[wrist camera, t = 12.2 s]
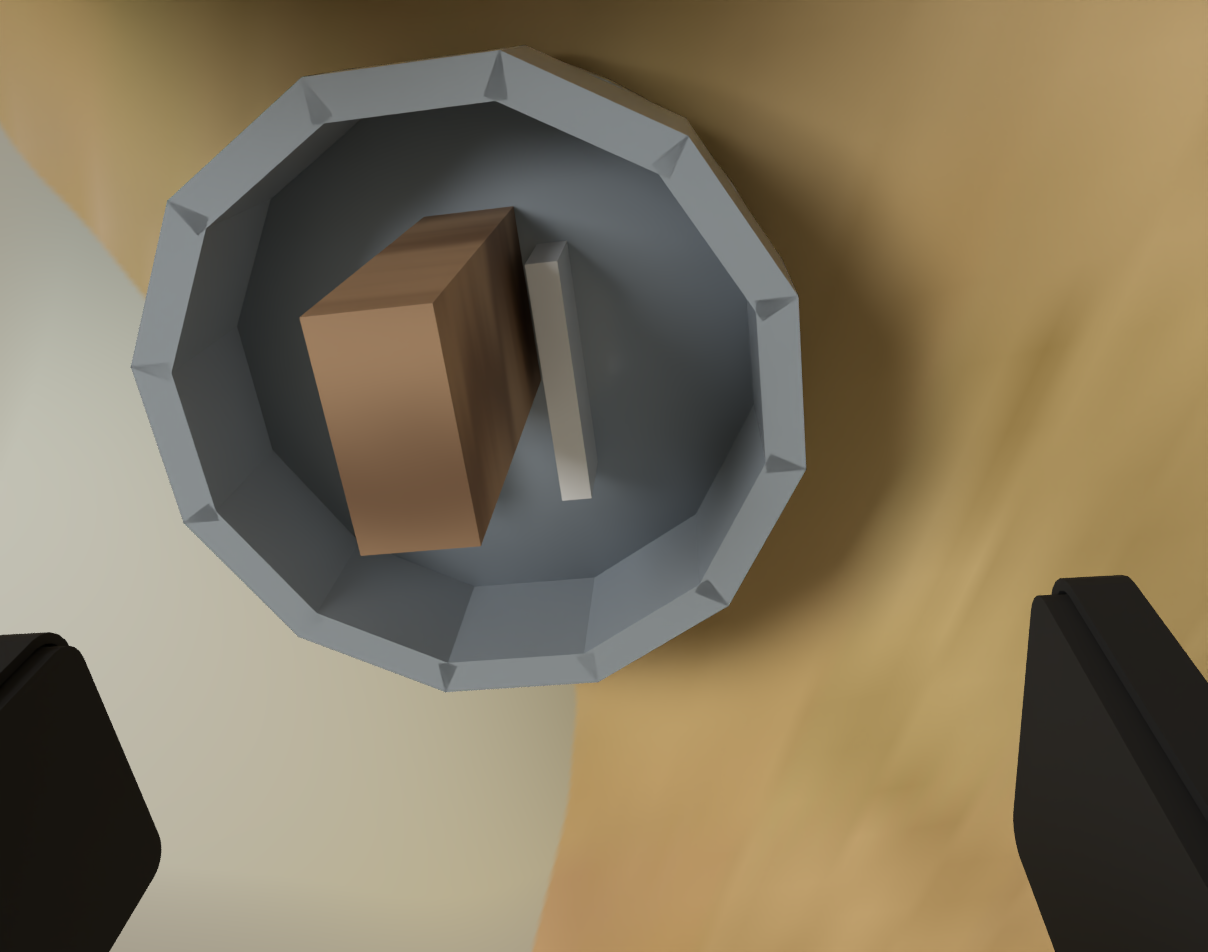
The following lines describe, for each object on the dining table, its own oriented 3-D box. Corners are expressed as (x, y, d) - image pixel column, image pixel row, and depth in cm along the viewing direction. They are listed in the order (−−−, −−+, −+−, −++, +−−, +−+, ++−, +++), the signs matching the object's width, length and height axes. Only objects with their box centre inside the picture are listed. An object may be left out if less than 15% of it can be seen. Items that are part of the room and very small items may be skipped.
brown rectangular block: (424, 216, 33) (299, 317, 22) (513, 206, 32) (432, 302, 21) (457, 388, 35) (360, 556, 24) (541, 380, 35) (480, 546, 24)
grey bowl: (156, 94, 33) (44, 111, 27) (764, 11, 31) (785, 10, 25) (306, 606, 41) (244, 705, 35) (793, 569, 39) (815, 668, 33)
